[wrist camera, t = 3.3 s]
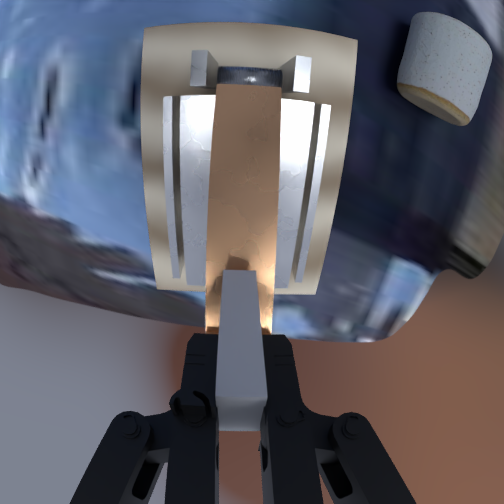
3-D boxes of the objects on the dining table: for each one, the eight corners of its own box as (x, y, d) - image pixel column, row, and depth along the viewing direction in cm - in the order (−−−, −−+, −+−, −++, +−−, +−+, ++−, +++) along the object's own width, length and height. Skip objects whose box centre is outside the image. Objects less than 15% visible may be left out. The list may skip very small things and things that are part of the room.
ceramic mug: (377, 88, 19) (430, 94, 13) (396, 17, 15) (448, 3, 8) (455, 134, 21) (507, 157, 14) (472, 71, 17) (524, 80, 10)
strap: (219, 74, 14) (218, 56, 12) (278, 77, 14) (284, 60, 12) (208, 353, 16) (205, 370, 14) (266, 354, 16) (270, 372, 14)
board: (152, 32, 16) (144, 27, 14) (348, 43, 17) (357, 40, 15) (161, 277, 29) (157, 289, 27) (311, 282, 30) (315, 294, 28)
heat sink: (176, 64, 16) (148, 54, 11) (321, 72, 17) (353, 66, 11) (182, 285, 27) (170, 335, 21) (290, 288, 27) (301, 338, 22)
